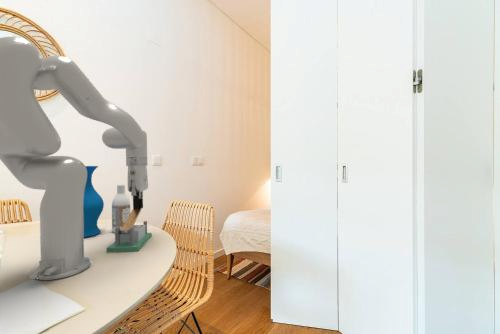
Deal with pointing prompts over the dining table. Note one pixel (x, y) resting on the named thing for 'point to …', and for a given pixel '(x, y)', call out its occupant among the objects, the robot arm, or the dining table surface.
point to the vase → (91, 205)
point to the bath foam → (120, 208)
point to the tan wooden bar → (130, 221)
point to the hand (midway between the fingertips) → (138, 208)
